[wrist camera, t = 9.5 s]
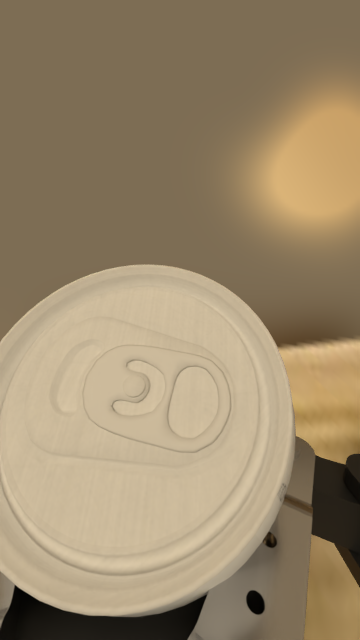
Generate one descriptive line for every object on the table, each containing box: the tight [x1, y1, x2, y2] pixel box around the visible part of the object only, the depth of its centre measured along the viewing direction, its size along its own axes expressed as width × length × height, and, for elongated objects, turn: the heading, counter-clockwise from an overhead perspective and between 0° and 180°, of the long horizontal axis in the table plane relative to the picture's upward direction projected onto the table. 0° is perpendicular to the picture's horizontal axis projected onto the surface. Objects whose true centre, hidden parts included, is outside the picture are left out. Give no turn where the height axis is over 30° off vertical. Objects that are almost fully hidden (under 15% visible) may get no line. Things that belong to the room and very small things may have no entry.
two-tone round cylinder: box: [0, 265, 296, 617], centre depth 11 cm, size 6×6×15 cm
